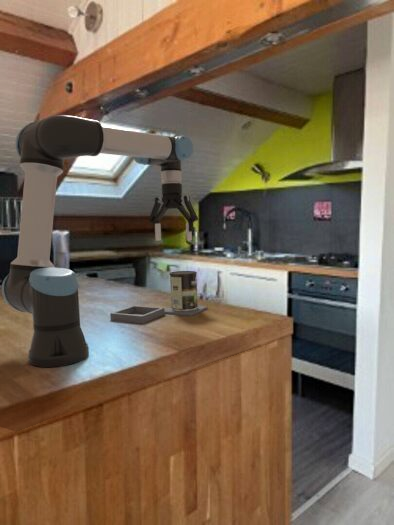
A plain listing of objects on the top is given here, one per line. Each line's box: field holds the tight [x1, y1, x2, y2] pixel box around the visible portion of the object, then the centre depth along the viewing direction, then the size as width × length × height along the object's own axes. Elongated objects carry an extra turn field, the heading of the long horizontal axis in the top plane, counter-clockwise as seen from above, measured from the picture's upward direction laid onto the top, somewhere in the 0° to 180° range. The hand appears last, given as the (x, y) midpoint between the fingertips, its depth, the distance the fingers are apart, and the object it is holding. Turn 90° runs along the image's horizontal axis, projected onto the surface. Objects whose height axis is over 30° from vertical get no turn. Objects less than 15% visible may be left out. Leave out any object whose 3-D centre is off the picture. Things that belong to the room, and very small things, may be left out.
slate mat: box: [164, 305, 208, 317], centre depth 163 cm, size 13×13×1 cm
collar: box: [109, 305, 165, 324], centre depth 155 cm, size 14×14×2 cm
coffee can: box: [169, 270, 199, 312], centre depth 162 cm, size 10×10×14 cm
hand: (173, 240), depth 159 cm, fingers open, 13 cm apart
